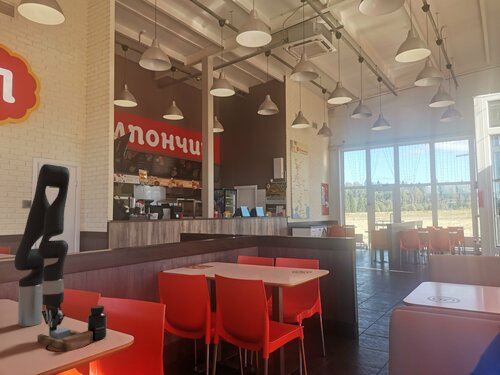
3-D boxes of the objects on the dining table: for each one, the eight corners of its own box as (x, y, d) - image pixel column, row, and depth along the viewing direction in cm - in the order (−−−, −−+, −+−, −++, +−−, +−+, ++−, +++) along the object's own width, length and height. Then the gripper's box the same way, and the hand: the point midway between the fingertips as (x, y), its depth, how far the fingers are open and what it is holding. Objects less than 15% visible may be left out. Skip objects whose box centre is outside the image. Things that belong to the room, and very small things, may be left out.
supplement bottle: (99, 341, 139) (99, 309, 140) (83, 340, 141) (83, 308, 141) (110, 335, 146) (110, 304, 147) (94, 334, 147) (94, 304, 148)
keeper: (50, 341, 141) (50, 331, 141) (62, 337, 145) (62, 327, 145) (57, 344, 138) (57, 333, 138) (70, 340, 142) (70, 329, 142)
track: (37, 341, 141) (37, 331, 141) (62, 334, 149) (62, 324, 149) (67, 351, 130) (67, 339, 130) (92, 342, 138) (92, 331, 139)
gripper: (34, 291, 145) (34, 336, 144) (53, 295, 138) (52, 342, 137) (53, 287, 152) (53, 330, 151) (71, 291, 144) (71, 335, 143)
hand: (53, 335), depth 144 cm, fingers closed
